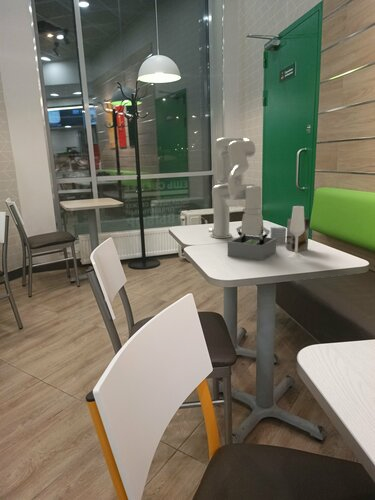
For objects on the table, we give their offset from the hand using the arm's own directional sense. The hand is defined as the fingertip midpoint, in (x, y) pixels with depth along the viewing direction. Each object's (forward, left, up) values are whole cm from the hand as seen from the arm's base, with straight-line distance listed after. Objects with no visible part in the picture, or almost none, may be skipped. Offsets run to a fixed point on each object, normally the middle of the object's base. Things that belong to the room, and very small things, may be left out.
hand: (252, 246), depth 175 cm
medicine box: (+2, +30, -4) cm, 30 cm away
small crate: (0, 0, -3) cm, 3 cm away
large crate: (0, 0, -4) cm, 4 cm away
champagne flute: (+20, +6, -4) cm, 21 cm away
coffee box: (+16, +20, -4) cm, 26 cm away
